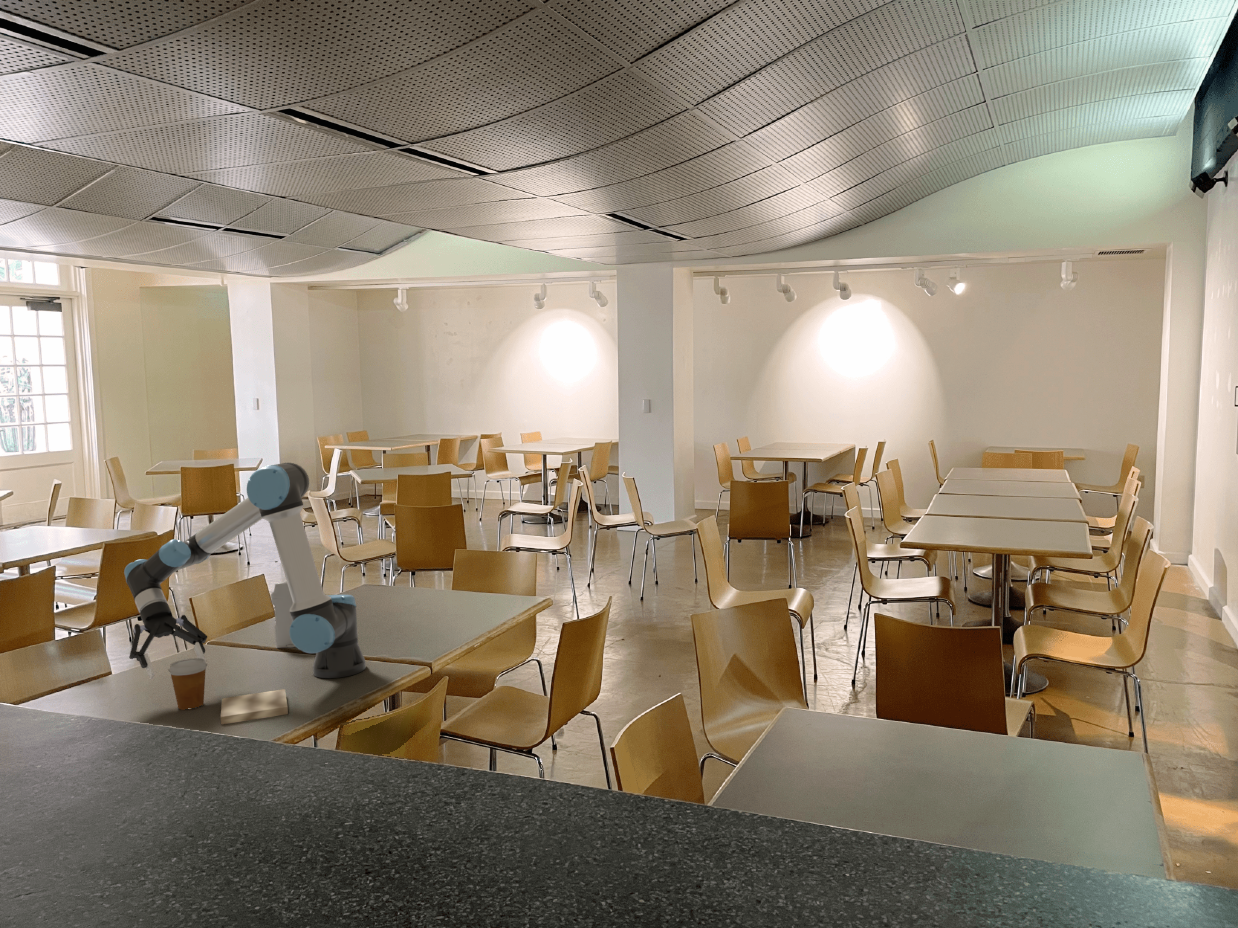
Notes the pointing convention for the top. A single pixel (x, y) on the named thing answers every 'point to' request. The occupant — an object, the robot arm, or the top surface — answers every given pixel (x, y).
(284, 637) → the tall pale column
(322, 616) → the robot arm
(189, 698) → the disposable coffee cup
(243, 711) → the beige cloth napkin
